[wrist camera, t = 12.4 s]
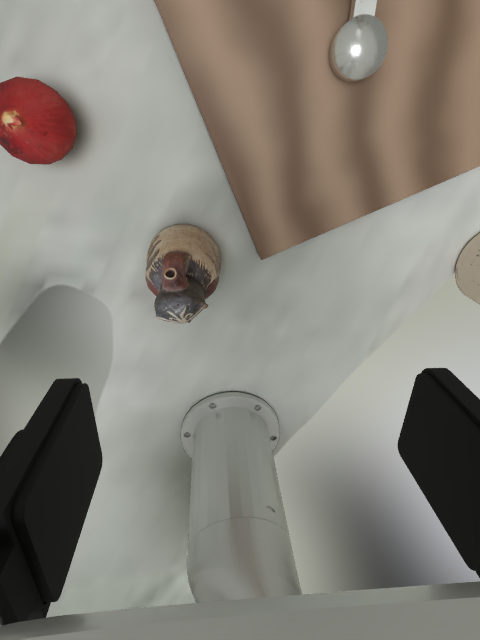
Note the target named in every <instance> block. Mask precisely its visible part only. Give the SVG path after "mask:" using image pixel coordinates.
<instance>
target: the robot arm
mask: <svg viewBox="0 0 480 640" xmlns="http://www.w3.org/2000/svg"><path fill="white" fill-rule="evenodd" d="M279 435H280V428H279V423H278V419H277V416H276V414H275V412H274V411H273V409H272V408H271V407H270V406H269V405H268V404H267V403H266V402H264V401H263V400H261V399H259V398H257V397H255V396H253V395H249V394H246V393H239V392H226V393H220V394H216V395H213V396H210V397H207V398H206V399H204V400H202V401H200V402H199V403H197V404H196V405H195V406H194V407H192V409H191V410H190V411H189V412H188V413H187V415H186V417H185V419H184V420H183V424H182V428H181V442H182V445H183V448H184V450H185V452H186V453H187V454H188V456H189V457H190V458H191V459H192V473H191V493H190V513H189V534H188V555H187V573H188V581H189V585H190V588H191V592H192V594H193V596H194V599H195V601H196V603H192V604H180V605H168V606H156V607H144V608H133V609H123V610H113V611H103V612H93V613H83V614H73V615H63V616H55V617H49V618H46V615H47V612H48V609H49V606H50V603H51V602H56V601H57V600H58V599H59V597H60V595H61V592H62V589H63V586H64V583H65V580H66V577H67V574H68V571H69V568H70V565H71V561H72V558H73V555H74V552H75V549H76V546H77V543H78V540H79V537H80V533H81V530H82V527H83V524H84V521H85V518H86V515H87V512H88V509H89V506H90V502H91V499H92V496H93V493H94V490H95V487H96V484H97V481H98V478H99V474H100V471H101V468H102V452H101V447H100V442H99V437H98V432H97V427H96V422H95V417H94V412H93V407H92V402H91V397H90V391H89V387H88V385H87V384H86V383H84V384H82V382H81V380H80V379H79V378H74V379H73V378H72V379H56V380H55V381H54V382H53V384H52V386H51V387H50V389H49V391H48V392H47V394H46V395H45V397H44V398H43V400H42V402H41V403H40V405H39V406H38V408H37V409H36V411H35V413H34V414H33V416H32V417H31V419H30V420H29V422H28V424H27V425H26V427H25V429H24V430H20V431H19V432H17V433H16V434H15V436H14V437H13V438H12V440H11V441H10V443H9V444H8V446H7V447H6V449H5V450H4V452H3V454H2V455H1V457H0V640H480V582H467V583H454V584H440V585H425V586H411V587H397V588H383V589H370V590H357V591H343V592H330V593H317V594H304V595H302V592H301V588H300V583H299V579H298V575H297V570H296V566H295V561H294V556H293V551H292V547H291V542H290V537H289V532H288V527H287V522H286V517H285V512H284V507H283V503H282V497H281V493H280V488H279V483H278V478H277V473H276V468H275V463H274V458H273V453H272V451H273V450H274V448H275V447H276V445H277V443H278V440H279ZM398 450H399V454H400V455H401V457H402V459H403V461H404V462H405V464H406V466H407V467H408V469H409V470H410V472H411V474H412V475H413V477H414V479H415V480H416V482H417V484H418V485H419V487H420V489H421V490H422V492H423V494H424V495H425V497H426V499H427V500H428V502H429V503H430V505H431V507H432V509H433V510H434V512H435V513H436V515H437V517H438V518H439V520H440V522H441V523H442V525H443V527H444V528H445V530H446V532H447V533H448V535H449V536H450V538H451V540H452V542H453V543H454V545H455V546H456V548H457V550H458V551H459V553H460V555H461V556H462V558H463V560H464V561H465V563H466V564H467V566H468V567H469V568H470V569H472V570H474V571H476V573H477V574H478V576H479V578H480V399H479V398H478V397H476V395H474V394H473V393H472V392H471V391H470V390H469V389H468V388H467V387H466V386H465V385H464V384H463V383H462V382H461V381H460V380H459V379H458V378H457V377H456V376H455V375H454V374H453V373H452V372H451V371H449V370H448V369H447V368H426V369H424V370H423V371H422V373H421V374H418V375H417V377H416V379H415V383H414V387H413V390H412V394H411V397H410V401H409V404H408V408H407V412H406V415H405V419H404V422H403V426H402V429H401V433H400V437H399V440H398Z"/></svg>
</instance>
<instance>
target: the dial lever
mask: <svg viewBox="0 0 480 640" xmlns="http://www.w3.org/2000/svg"><path fill="white" fill-rule="evenodd" d="M376 4H377V0H352V2H351V9H350V16H349V21H348V22H347V23H346V24H344V25H343V26H342V27H341V28H340V29H339V30H338V31H337V33H336V34H335V36H334V38H333V40H332V42H331V46H330V52H329V58H330V64H331V67H332V69H333V71H334V73H335V74H336V75H337V76H338V77H339V78H340V79H342V80H344V81H347V82H355V81H358V80H361V79H364V78H366V77H369V76H370V75H372V74H373V73H375V72H376V71H377V70H378V68H379V67H380V66H381V64H382V63H383V61H384V58H385V56H386V52H387V47H388V37H387V32H386V29H385V27H384V25H383V24H382V22H381V21H380V20H379V19H378V18H376V17H374V16H375V10H376Z"/></svg>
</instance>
